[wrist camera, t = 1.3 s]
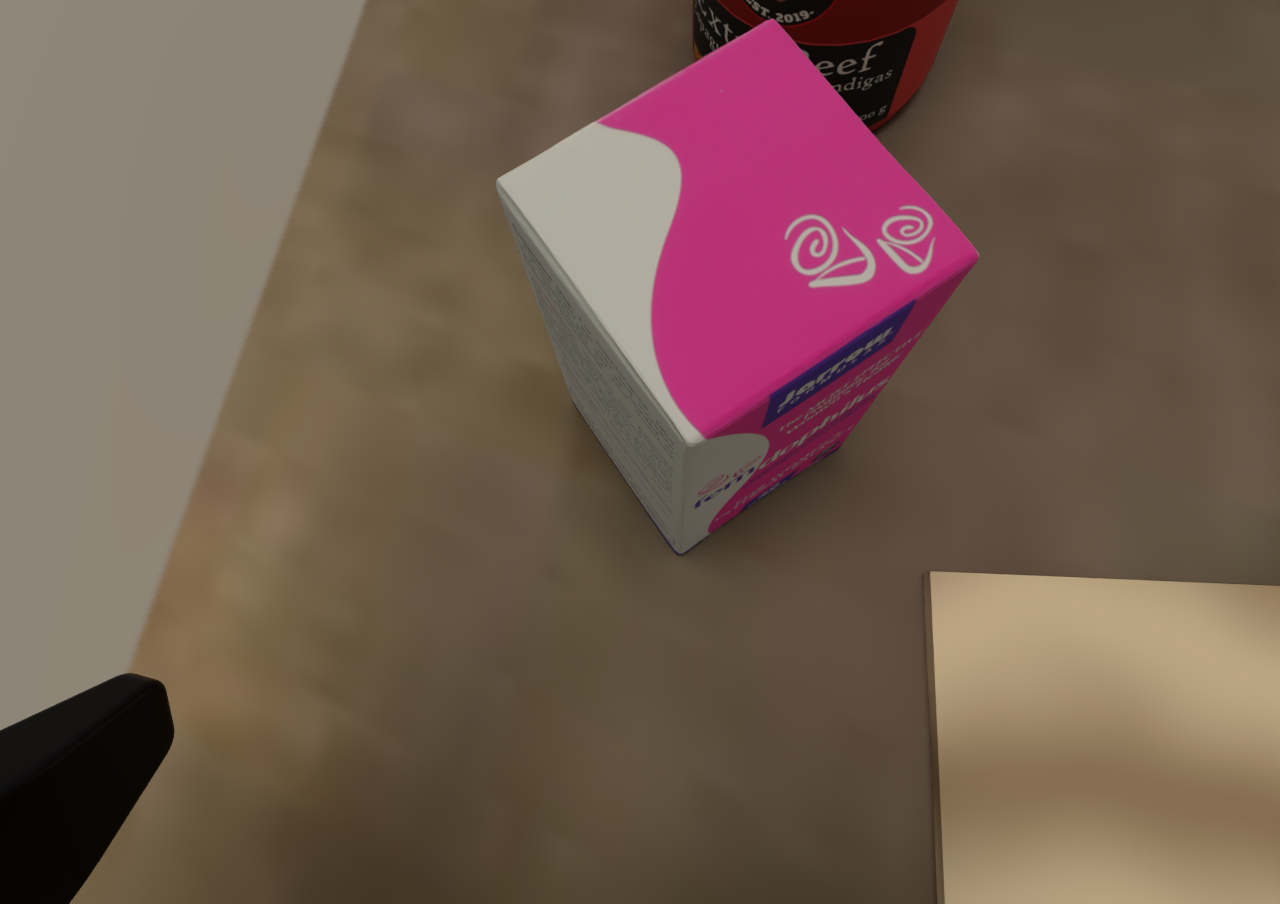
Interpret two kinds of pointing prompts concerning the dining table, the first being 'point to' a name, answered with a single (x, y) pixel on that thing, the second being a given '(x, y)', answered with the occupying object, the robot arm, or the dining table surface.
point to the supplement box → (728, 276)
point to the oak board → (1103, 740)
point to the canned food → (843, 42)
